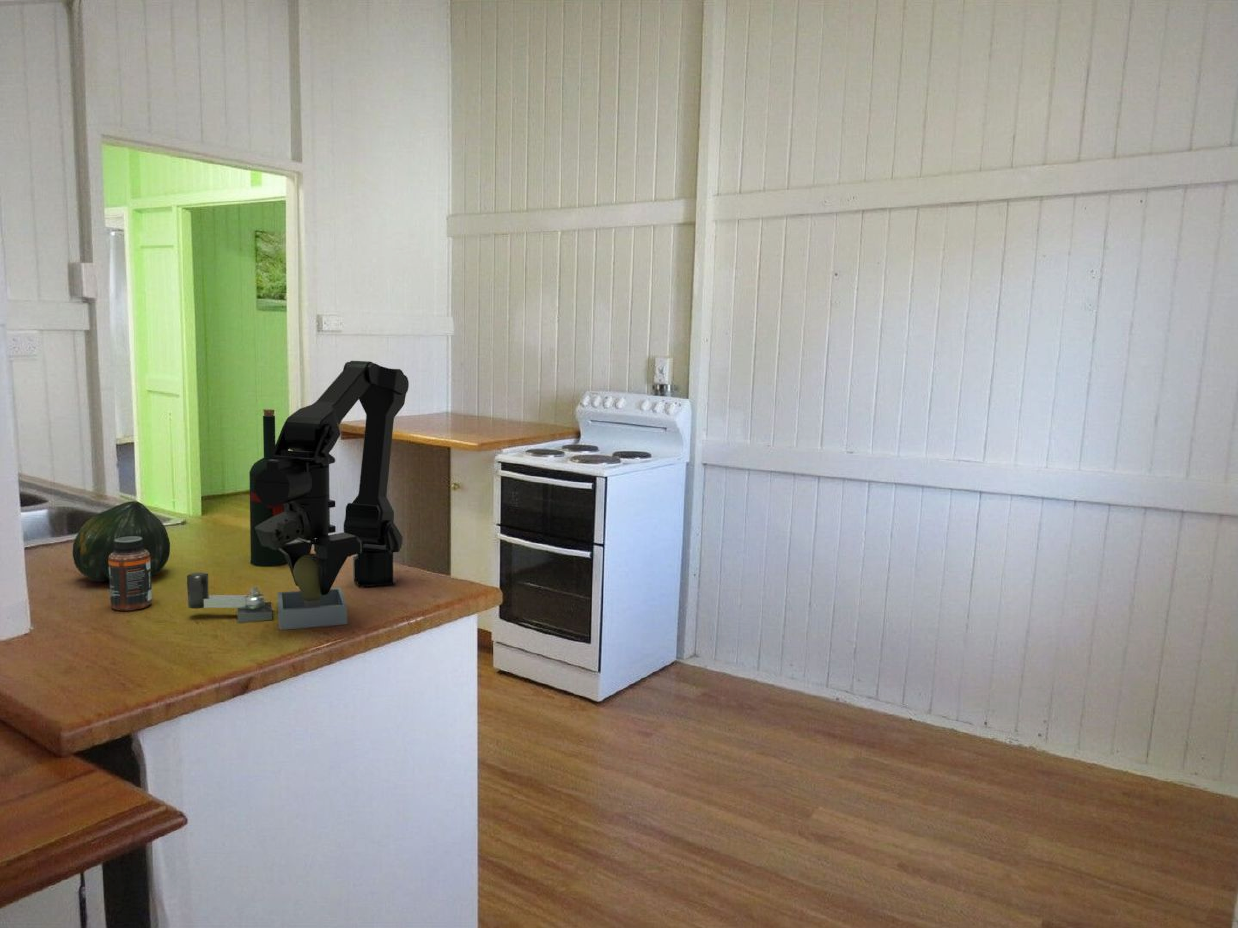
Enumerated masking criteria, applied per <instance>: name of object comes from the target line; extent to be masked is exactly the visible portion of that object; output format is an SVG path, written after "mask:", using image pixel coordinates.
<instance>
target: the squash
mask: <svg viewBox="0 0 1238 928" xmlns="http://www.w3.org/2000/svg"><path fill="white" fill-rule="evenodd" d="M129 536H137V537H142V539H143V548H144V549H145V550H147V551H148V552H149V554H150V565H151V577H152V576H155V575H157V574H158V573H159V572H160V571H162V569H163V568H164V567H165V566H166V564H167V563H168V561H169V557H170V553H171V542H170V541H171V540H170V537H169V534H168V531H167V529H166V526H165V525H164V523H163V522H162V521H161V520H160V519H159V517H157V516H156V515H155V514H154V513H153V512H151V510H150V509H149V508H148V507H147V506H145V504H143V503H141V502H140V501H138V500H131V501H126V502H124V503H120V504H118V505H115V506H114V507H111V508H110V509H109V508H108V509H107V510H104V511H102V512H100V513H98V514H95V515H94V516H93V517H91V518H90V519H88V520H87V521H86V522H85V523H84V524H83V525H82V526H81V527H80V529H79V530H78V533H77V535H75V538H74V541H73V544H72V559H73V563H74V565H75V567H76V568H77V570H78V571H79V572H80V574H81V575H83V576H84V577H86V578H89V580H90V579H91V580H93V581H96V582H100V583H101V582H107V581H109V562H108V559H109V555H110V554H111V553H112V552H113V551H114V550H115V547H114V545H115V543H114V540H115V539H117V538H121V537H129Z"/></svg>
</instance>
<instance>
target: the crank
mask: <svg viewBox="0 0 1238 928" xmlns="http://www.w3.org/2000/svg"><path fill="white" fill-rule="evenodd" d="M186 583H187V585H186V586H187V587H186V588H187V607H188V608H189V609H203V608H204V609H205V608H218V609H219V608H224V609H225V608H230V609H231V608H237V609H238V607H246V608H260V607H263V606H264V605H265V602H266V600H265V598H266V597H265V595H264V594H259V593H258V594H253V595H251V594H237V595H236V594H223V595H222V594H212V595H211V594H209V573H208V572H193V573H189V574H187V575H186Z"/></svg>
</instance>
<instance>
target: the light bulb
mask: <svg viewBox="0 0 1238 928" xmlns="http://www.w3.org/2000/svg"><path fill="white" fill-rule="evenodd" d="M312 555H316V553H313V552H311V553H310V554H306V555H304V556H302V557H301V558H300V559H299V560H298V561H297V562H296V564H295V566H294V569H293V575H294V579H295V581H296V583H297V585H298V586H297V588H299V591H301V595H302V598H303V599H304V608H311V607H320V599H321V597H322V595H321V591H320V586H319V576H318V567H317V564H316V563H315V562H314V561H313V560H312V559H311V558H310V556H312ZM294 579H293V580H294Z"/></svg>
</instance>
